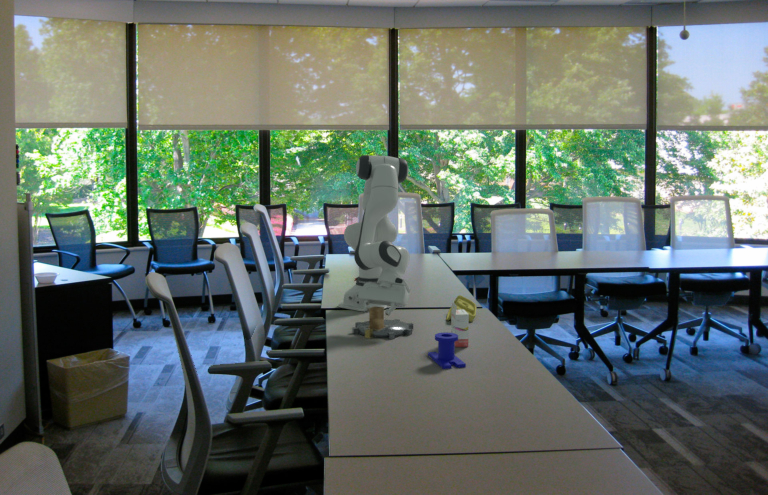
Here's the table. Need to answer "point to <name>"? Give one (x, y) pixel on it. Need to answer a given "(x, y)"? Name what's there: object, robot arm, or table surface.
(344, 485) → the table surface
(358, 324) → the sprocket plate
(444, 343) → the mount
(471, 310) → the plastic component
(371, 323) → the brown rectangular block
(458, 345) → the ink cartridge box
